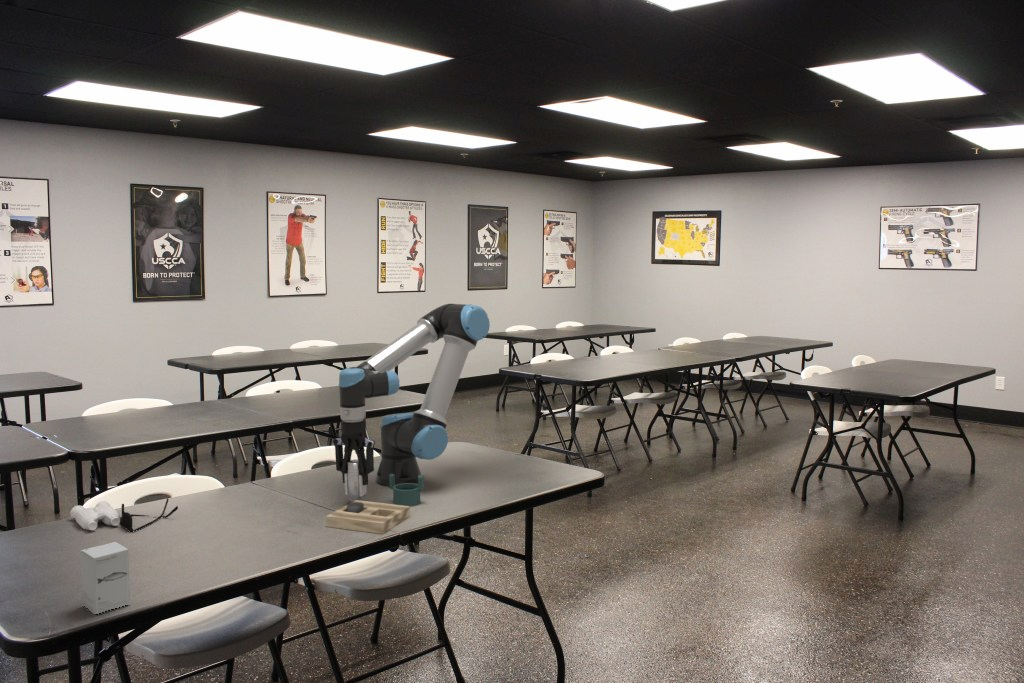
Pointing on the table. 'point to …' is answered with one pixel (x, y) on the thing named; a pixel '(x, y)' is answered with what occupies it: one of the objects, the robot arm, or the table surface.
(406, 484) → the bracket
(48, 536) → the table surface
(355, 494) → the metal cylinder
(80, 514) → the binoculars
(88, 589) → the supplement box
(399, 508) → the jig
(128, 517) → the sunglasses
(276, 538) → the table surface
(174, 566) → the table surface
